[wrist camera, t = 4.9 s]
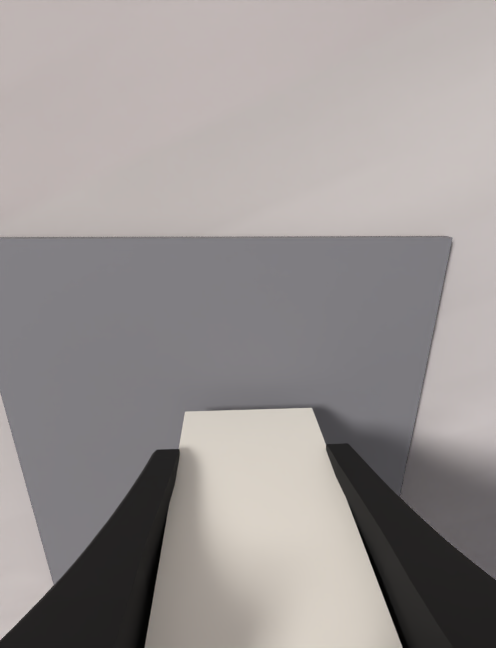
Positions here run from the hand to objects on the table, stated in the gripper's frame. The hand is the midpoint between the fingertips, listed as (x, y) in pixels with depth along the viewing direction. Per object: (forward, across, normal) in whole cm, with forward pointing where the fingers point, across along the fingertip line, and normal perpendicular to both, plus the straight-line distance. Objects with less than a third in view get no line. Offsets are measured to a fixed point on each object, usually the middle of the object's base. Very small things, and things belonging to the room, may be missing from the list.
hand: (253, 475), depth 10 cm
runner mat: (+3, +1, +8) cm, 9 cm away
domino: (+2, 0, 0) cm, 2 cm away
